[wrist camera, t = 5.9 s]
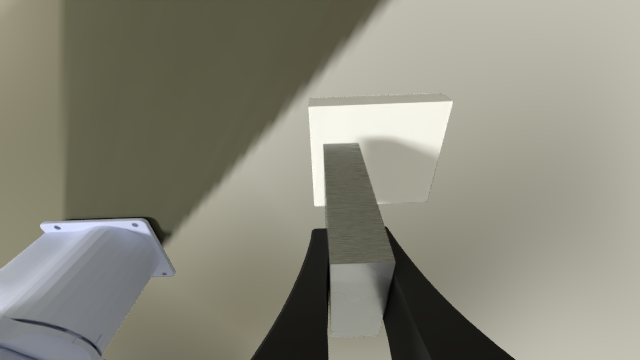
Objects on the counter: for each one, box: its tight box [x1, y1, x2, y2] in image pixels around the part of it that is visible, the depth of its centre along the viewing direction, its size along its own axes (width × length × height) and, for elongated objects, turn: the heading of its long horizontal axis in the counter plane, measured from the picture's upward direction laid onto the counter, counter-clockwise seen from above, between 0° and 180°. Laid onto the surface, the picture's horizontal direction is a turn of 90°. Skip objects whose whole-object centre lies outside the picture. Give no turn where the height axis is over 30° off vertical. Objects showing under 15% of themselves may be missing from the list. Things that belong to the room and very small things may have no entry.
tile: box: [309, 93, 453, 206], centre depth 19 cm, size 2×8×9 cm
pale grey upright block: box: [323, 143, 396, 338], centre depth 12 cm, size 2×5×8 cm, turn 2°
